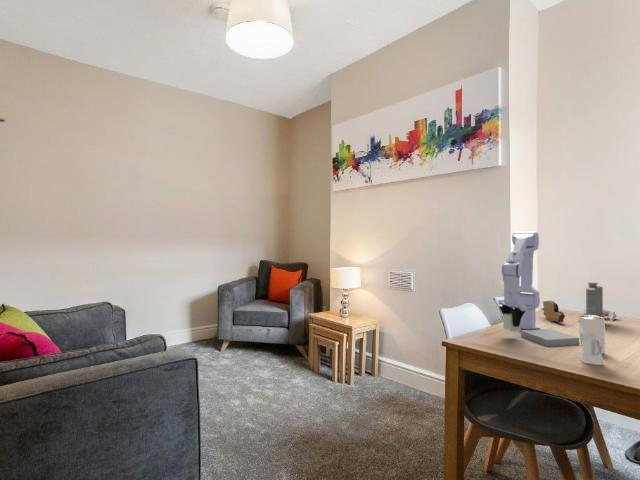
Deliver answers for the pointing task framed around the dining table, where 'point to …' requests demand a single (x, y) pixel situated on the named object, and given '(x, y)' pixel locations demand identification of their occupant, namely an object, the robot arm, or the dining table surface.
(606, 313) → the seahorse
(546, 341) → the slate block
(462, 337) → the dining table surface
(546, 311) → the wooden carving
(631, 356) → the dining table surface
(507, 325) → the sage block
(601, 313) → the hip flask
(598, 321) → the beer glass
